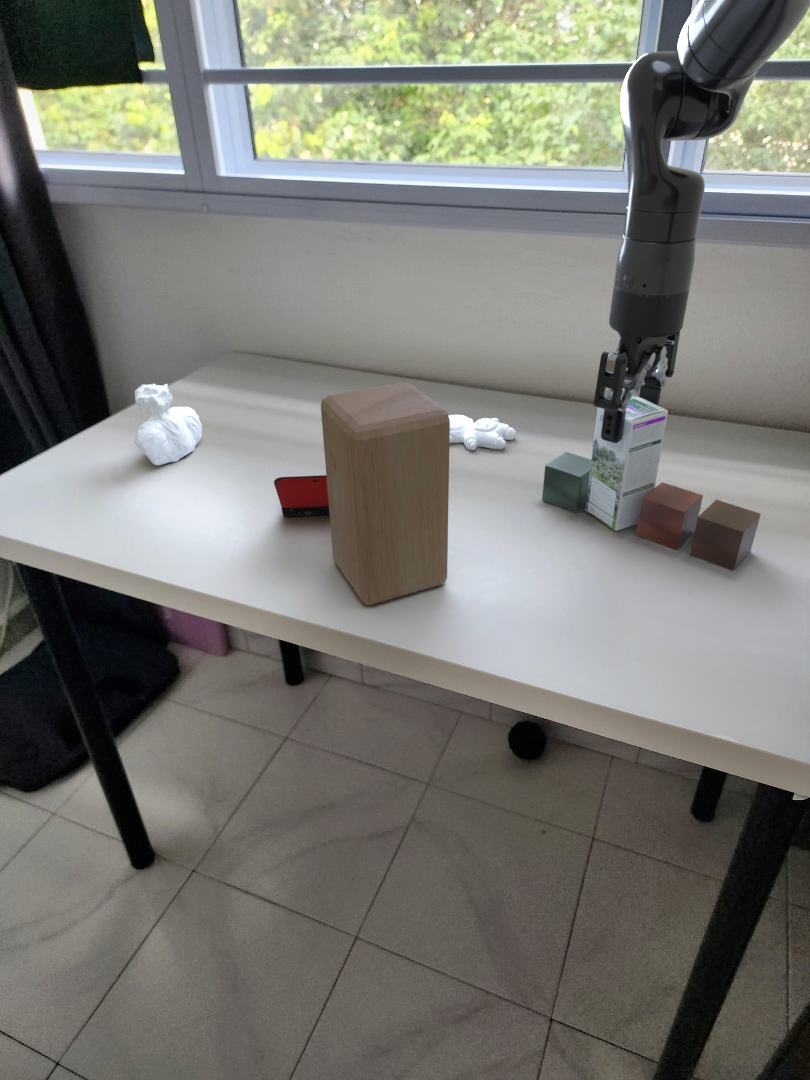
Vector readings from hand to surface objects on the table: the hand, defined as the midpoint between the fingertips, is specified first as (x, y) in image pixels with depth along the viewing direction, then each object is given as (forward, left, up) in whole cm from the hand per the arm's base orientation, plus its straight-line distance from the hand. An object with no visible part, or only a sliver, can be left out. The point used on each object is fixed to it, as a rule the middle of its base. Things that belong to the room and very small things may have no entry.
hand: (629, 428), depth 86 cm
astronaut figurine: (+27, -7, -12) cm, 30 cm away
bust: (+58, +25, -12) cm, 64 cm away
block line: (-3, 0, -12) cm, 12 cm away
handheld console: (+28, +21, -12) cm, 37 cm away
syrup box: (0, 0, -12) cm, 12 cm away
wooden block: (+13, +27, -12) cm, 32 cm away
